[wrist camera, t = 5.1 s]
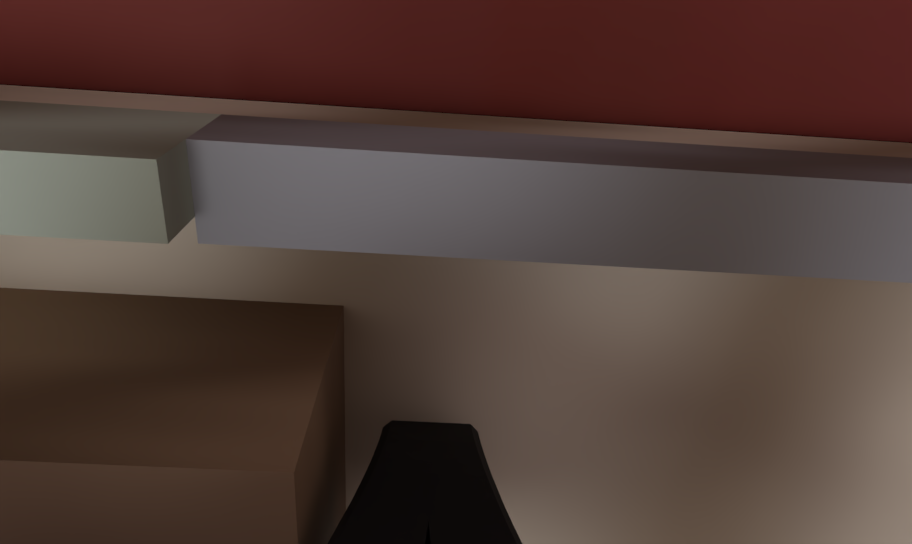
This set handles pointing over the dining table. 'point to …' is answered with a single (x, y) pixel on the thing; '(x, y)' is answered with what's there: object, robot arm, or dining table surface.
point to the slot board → (527, 292)
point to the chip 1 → (169, 419)
